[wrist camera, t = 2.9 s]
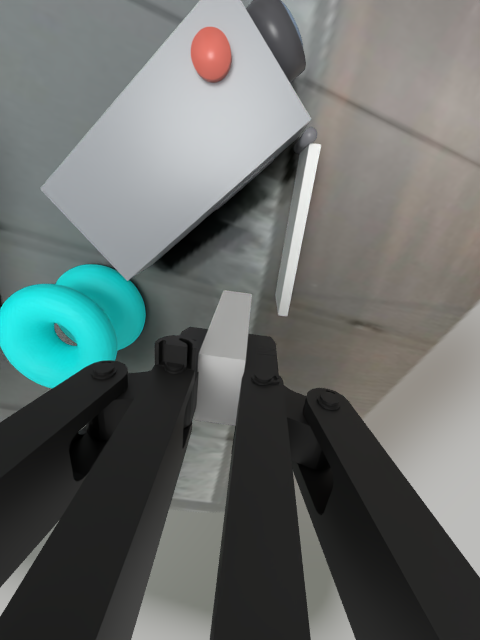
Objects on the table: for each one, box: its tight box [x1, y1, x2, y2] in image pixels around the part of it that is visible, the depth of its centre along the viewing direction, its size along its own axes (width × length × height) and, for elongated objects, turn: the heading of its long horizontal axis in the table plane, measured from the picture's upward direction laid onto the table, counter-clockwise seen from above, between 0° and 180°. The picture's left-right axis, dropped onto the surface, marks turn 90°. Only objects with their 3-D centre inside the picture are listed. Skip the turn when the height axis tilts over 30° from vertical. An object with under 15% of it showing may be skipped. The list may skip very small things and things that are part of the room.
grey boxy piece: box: [40, 0, 311, 281], centre depth 23 cm, size 20×9×8 cm, turn 128°
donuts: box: [0, 264, 146, 388], centre depth 29 cm, size 10×10×10 cm
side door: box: [275, 127, 321, 316], centre depth 25 cm, size 14×2×6 cm, turn 173°
